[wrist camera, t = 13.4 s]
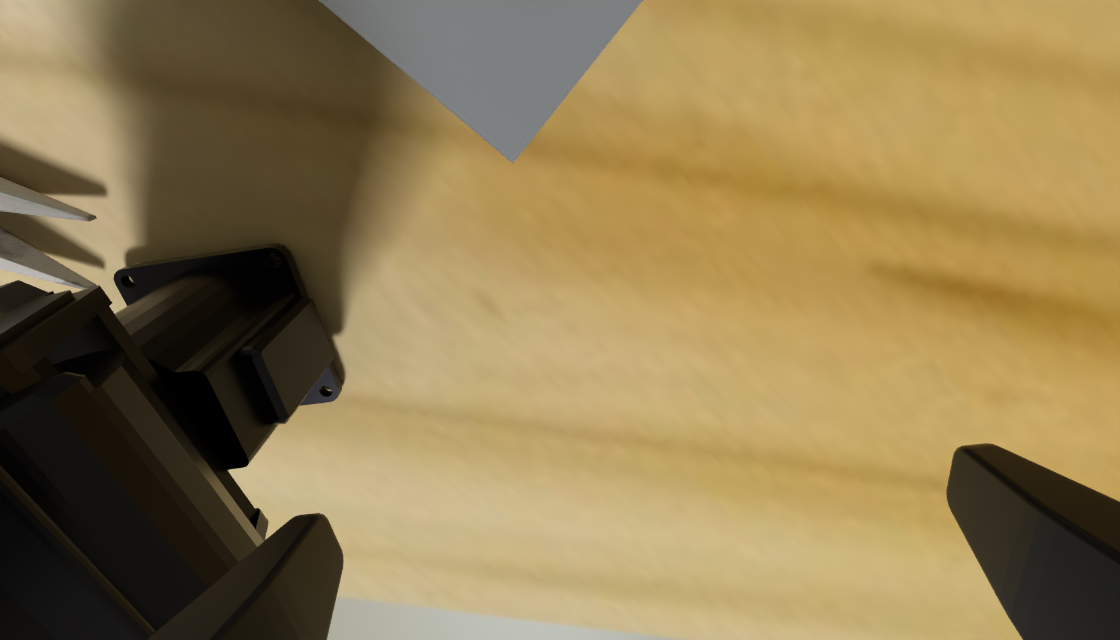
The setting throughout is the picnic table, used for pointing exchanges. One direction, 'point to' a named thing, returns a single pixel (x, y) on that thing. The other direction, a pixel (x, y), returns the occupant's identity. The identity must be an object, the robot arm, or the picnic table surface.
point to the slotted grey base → (491, 54)
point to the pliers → (22, 257)
